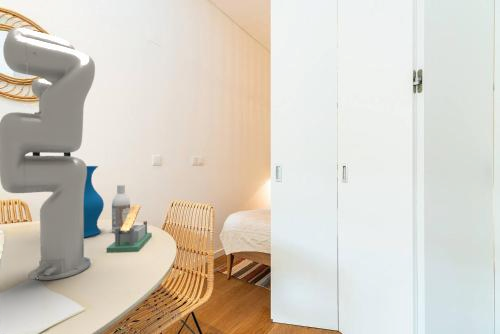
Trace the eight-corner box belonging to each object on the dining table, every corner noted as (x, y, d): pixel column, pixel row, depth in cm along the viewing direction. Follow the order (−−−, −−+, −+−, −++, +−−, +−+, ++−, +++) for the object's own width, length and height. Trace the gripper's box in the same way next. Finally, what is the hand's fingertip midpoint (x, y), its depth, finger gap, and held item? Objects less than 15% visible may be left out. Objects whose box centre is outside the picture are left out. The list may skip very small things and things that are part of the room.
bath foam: (119, 234, 99) (119, 185, 99) (108, 232, 102) (107, 185, 102) (133, 229, 106) (133, 184, 105) (122, 227, 108) (122, 183, 108)
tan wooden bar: (129, 234, 82) (129, 232, 82) (119, 235, 82) (118, 232, 81) (141, 207, 94) (140, 204, 93) (132, 207, 94) (131, 205, 93)
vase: (110, 231, 103) (110, 166, 102) (84, 240, 91) (83, 166, 90) (88, 229, 106) (87, 165, 105) (59, 238, 94) (58, 166, 93)
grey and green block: (138, 251, 81) (138, 229, 81) (106, 252, 80) (106, 230, 80) (151, 236, 97) (151, 217, 97) (125, 237, 96) (125, 218, 95)
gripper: (27, 112, 85) (28, 161, 85) (81, 120, 100) (81, 161, 100) (18, 114, 89) (19, 161, 89) (72, 121, 104) (72, 161, 104)
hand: (52, 161), depth 94 cm, fingers open, 9 cm apart
